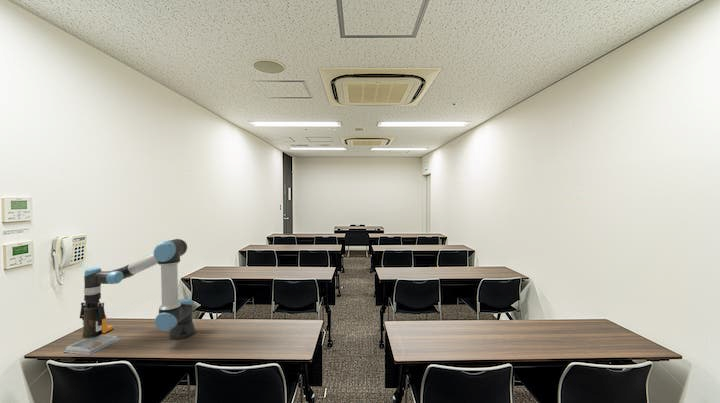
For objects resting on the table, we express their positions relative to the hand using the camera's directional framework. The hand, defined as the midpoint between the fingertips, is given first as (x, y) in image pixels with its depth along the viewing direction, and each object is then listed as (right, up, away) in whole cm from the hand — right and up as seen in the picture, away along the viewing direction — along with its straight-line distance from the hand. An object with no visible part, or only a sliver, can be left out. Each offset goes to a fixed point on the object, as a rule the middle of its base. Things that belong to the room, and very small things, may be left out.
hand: (92, 330), depth 178 cm
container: (0, -3, 0) cm, 3 cm away
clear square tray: (0, -10, 0) cm, 10 cm away
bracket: (-12, -10, +20) cm, 25 cm away
